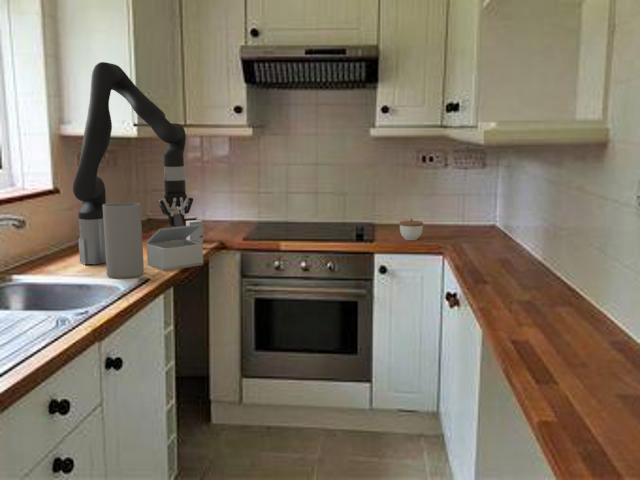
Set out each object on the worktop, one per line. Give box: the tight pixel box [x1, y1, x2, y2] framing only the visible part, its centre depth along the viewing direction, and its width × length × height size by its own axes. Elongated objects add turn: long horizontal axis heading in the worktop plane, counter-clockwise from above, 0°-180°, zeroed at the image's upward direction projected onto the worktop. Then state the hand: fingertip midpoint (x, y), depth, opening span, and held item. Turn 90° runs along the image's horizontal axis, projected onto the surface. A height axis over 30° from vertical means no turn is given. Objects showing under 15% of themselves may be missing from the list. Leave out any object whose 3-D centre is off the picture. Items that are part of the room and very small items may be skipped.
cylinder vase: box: [103, 201, 145, 279], centre depth 225 cm, size 12×12×25 cm
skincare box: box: [186, 219, 204, 245], centre depth 273 cm, size 6×4×12 cm
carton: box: [145, 239, 204, 272], centre depth 242 cm, size 16×14×8 cm
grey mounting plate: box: [145, 213, 200, 244], centre depth 242 cm, size 16×14×6 cm
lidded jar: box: [398, 218, 424, 241], centre depth 295 cm, size 11×11×9 cm
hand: (176, 225), depth 238 cm, fingers closed on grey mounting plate, 3 cm apart
